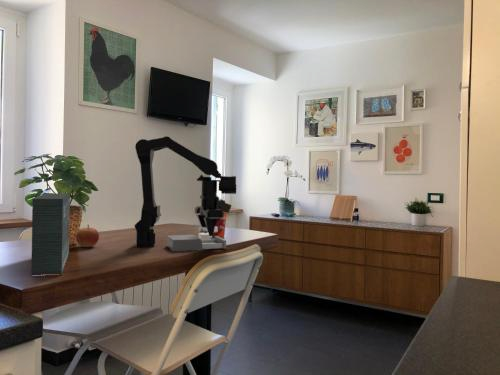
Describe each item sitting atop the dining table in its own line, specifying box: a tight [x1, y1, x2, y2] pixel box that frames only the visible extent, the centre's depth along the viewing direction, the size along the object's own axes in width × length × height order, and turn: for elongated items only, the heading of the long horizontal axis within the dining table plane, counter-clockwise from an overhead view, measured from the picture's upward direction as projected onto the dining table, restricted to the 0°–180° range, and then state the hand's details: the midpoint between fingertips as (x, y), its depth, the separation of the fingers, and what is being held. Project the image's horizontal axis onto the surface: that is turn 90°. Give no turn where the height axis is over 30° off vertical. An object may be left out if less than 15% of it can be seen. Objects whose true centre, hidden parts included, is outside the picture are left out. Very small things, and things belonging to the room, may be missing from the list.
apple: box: [74, 224, 100, 248], centre depth 146 cm, size 8×8×8 cm
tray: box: [202, 236, 227, 250], centre depth 153 cm, size 11×11×3 cm
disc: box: [198, 225, 218, 233], centre depth 153 cm, size 7×7×2 cm
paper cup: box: [211, 211, 227, 239], centre depth 179 cm, size 8×8×14 cm
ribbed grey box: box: [30, 192, 71, 276], centre depth 117 cm, size 29×7×20 cm, turn 21°
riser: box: [198, 232, 212, 240], centre depth 163 cm, size 4×4×4 cm
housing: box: [166, 234, 203, 252], centre depth 149 cm, size 10×11×4 cm
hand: (208, 234), depth 153 cm, fingers closed on disc, 7 cm apart
